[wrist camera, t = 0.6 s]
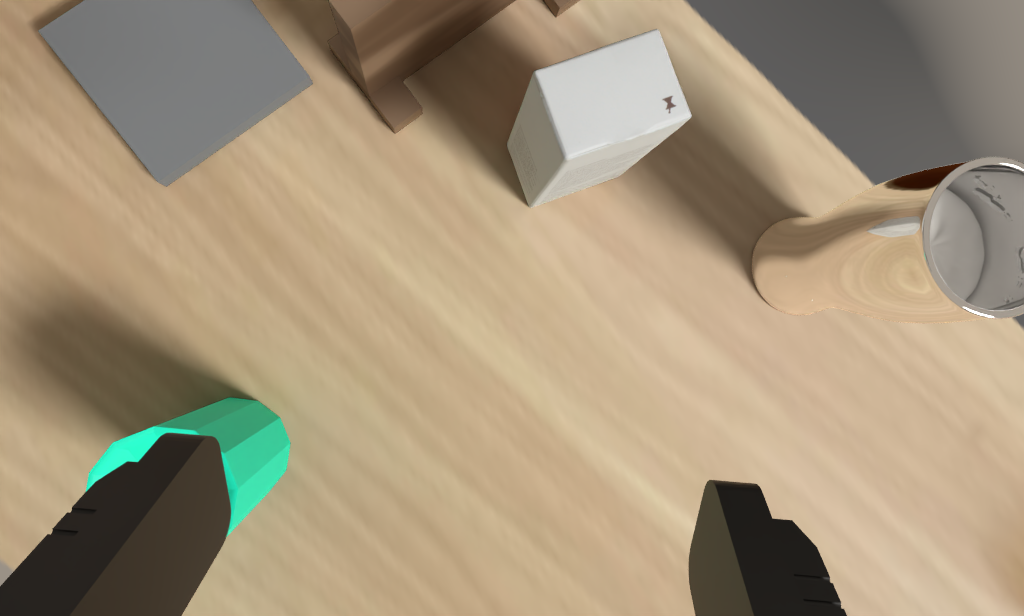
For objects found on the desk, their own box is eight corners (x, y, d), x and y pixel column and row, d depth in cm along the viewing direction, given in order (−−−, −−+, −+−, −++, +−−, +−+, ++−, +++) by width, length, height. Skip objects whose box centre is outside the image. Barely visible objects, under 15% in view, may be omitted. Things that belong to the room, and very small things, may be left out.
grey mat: (50, 40, 37) (37, 30, 36) (202, -61, 38) (195, -73, 37) (166, 186, 37) (157, 182, 36) (313, 83, 39) (309, 76, 37)
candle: (156, 441, 37) (27, 498, 25) (247, 375, 38) (163, 401, 26) (223, 526, 38) (127, 621, 26) (312, 459, 38) (258, 522, 26)
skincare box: (595, 110, 41) (663, 24, 29) (619, 177, 41) (697, 118, 29) (501, 143, 40) (531, 67, 28) (526, 210, 40) (566, 164, 28)
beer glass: (772, 191, 42) (961, 120, 27) (866, 242, 42) (1101, 200, 28) (725, 291, 41) (891, 275, 26) (821, 341, 42) (1035, 353, 27)
